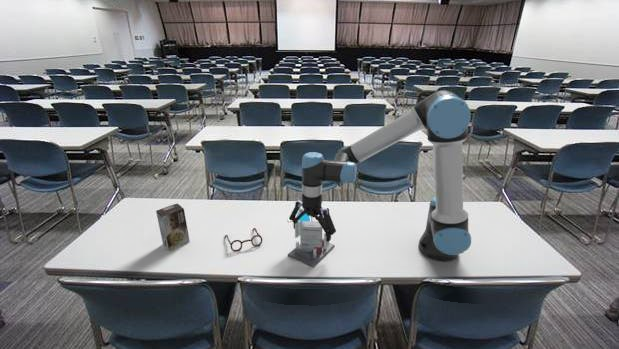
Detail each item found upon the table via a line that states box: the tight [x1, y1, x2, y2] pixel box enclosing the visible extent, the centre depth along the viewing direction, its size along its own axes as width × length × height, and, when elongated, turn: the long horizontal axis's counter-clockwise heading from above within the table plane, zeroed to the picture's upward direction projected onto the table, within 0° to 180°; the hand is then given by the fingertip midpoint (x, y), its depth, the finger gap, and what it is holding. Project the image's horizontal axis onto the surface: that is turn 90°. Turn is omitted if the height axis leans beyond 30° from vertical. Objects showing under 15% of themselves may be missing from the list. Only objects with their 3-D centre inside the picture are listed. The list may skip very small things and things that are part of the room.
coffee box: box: [155, 203, 190, 251], centre depth 133 cm, size 9×6×16 cm
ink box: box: [299, 220, 323, 253], centre depth 129 cm, size 9×5×12 cm, turn 86°
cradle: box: [287, 238, 335, 268], centre depth 130 cm, size 12×16×5 cm
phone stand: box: [287, 208, 313, 225], centre depth 154 cm, size 20×12×2 cm, turn 5°
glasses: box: [224, 227, 263, 252], centre depth 137 cm, size 13×13×5 cm
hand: (311, 241), depth 129 cm, fingers open, 13 cm apart
